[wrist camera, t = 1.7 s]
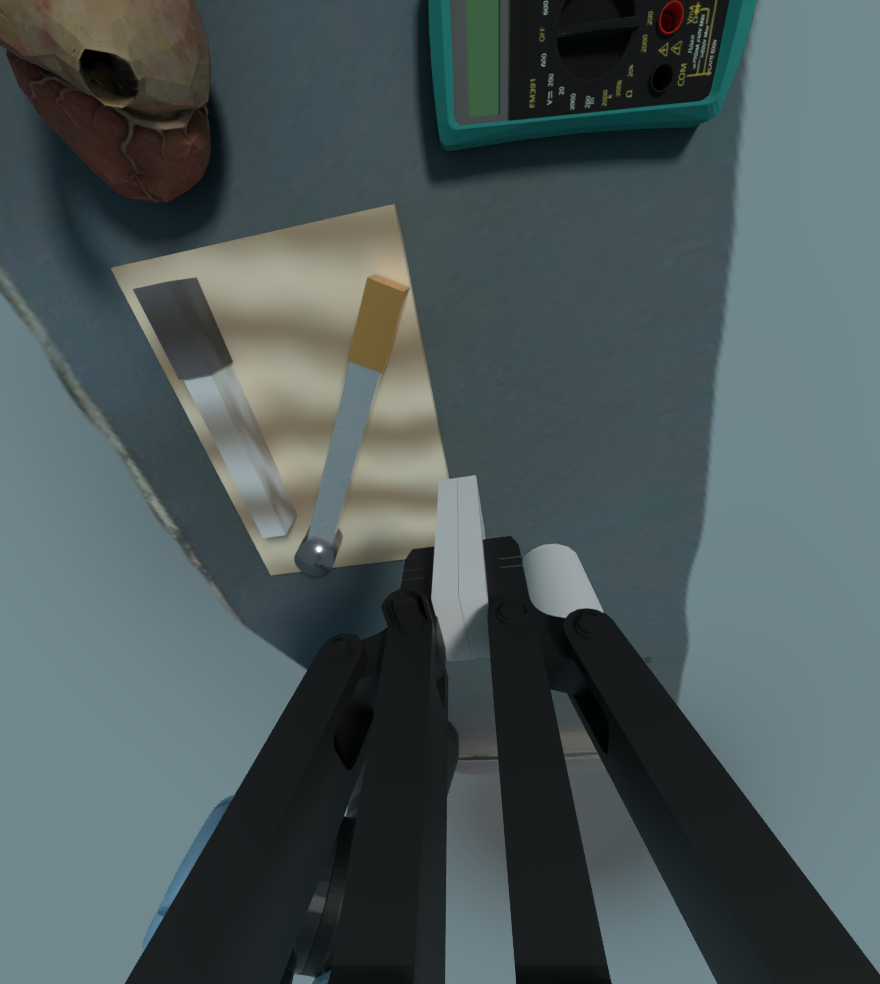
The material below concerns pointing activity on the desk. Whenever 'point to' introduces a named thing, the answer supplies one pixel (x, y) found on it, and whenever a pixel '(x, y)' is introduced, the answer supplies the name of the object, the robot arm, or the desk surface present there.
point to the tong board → (297, 380)
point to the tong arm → (352, 419)
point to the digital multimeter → (580, 65)
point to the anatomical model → (118, 86)
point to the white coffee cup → (558, 581)
